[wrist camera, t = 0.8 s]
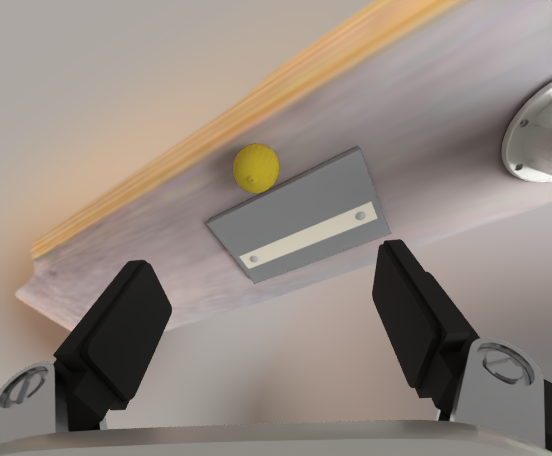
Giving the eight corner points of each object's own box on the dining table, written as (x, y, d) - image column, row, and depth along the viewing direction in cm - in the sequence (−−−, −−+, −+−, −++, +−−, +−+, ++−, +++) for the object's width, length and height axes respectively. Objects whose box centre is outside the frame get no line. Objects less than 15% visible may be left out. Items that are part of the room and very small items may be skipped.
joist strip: (371, 201, 34) (371, 201, 34) (377, 218, 35) (377, 218, 35) (239, 256, 40) (238, 257, 40) (248, 268, 42) (248, 269, 42)
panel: (357, 146, 31) (360, 149, 30) (387, 228, 38) (391, 233, 36) (209, 219, 39) (206, 224, 37) (255, 277, 45) (254, 283, 44)
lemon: (265, 185, 35) (259, 212, 28) (232, 162, 34) (217, 185, 27) (288, 154, 32) (288, 175, 26) (254, 128, 31) (243, 143, 24)
